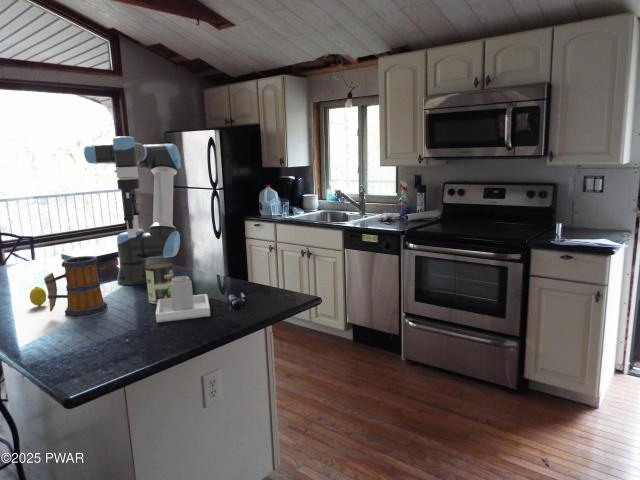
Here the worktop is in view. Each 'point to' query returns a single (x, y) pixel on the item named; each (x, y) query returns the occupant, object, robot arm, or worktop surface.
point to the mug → (78, 288)
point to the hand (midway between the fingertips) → (133, 234)
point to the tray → (168, 314)
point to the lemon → (37, 296)
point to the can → (181, 293)
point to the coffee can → (159, 281)
